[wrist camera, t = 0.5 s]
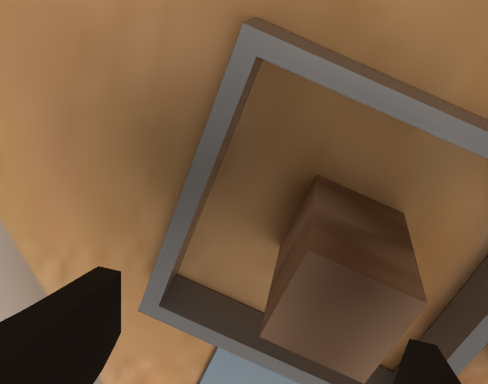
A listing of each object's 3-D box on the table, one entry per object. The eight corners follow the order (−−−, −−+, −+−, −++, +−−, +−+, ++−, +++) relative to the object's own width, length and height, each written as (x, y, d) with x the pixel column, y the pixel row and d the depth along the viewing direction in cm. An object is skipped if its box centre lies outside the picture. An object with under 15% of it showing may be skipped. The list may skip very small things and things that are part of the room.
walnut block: (403, 213, 19) (427, 303, 14) (358, 281, 21) (364, 384, 16) (317, 174, 19) (308, 250, 14) (280, 246, 21) (258, 336, 16)
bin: (588, 165, 17) (626, 193, 15) (400, 388, 23) (406, 431, 21) (256, 17, 17) (243, 23, 15) (157, 279, 23) (138, 310, 21)
